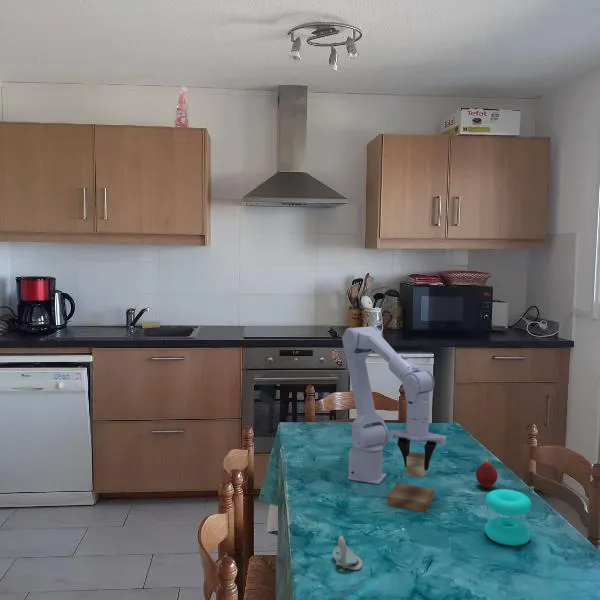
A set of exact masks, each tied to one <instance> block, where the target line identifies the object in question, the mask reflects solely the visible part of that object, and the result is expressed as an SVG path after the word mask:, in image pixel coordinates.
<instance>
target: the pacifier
mask: <svg viewBox="0 0 600 600" xmlns="http://www.w3.org/2000/svg"><path fill="white" fill-rule="evenodd" d="M337 545H338V546H335V547H334V548H333V549H332V552H331V553H332V554H331V555H332V558H333V559H334V560H335V564H336V565H337V566H339V567H341V566H342V567H343V568H342V567H341V568H342V569H345V568H347V569H348V570H352V571H357V570H360V569H361V568H363V561H362V559H361V558H360V557H359V556H357V555H356V554H355V553H354V551H353V550H352V549H350V548H349V547H347V545H346V541H345V539H344V536H343V535H340V536H339V538H338V539H337ZM337 554H338V555H337ZM355 564H357V565H355Z"/></svg>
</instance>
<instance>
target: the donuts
mask: <svg viewBox="0 0 600 600" xmlns="http://www.w3.org/2000/svg"><path fill="white" fill-rule="evenodd" d="M485 502H486V505H487V507H488V508H489V509H490V510H491V511H493V512H494V513H496V514H499V515H502V516H501V517H500V516H499V517H493V518H490V520H488V521H487V522H486V523H485V526H484V532H485V534H486V535H487V537H488V538H489V539H490V540H491V541H493V542H495V543H498V544H501V545H505V546H522V545H526V543H528V542H529V540H530V539H531V530H530V529H529V527H528V526H527V525H526V524H525V523H524V522H522V521H520V520H518V519H516V518H513V517H520V516H523V515H524V516H525V514H528V513H529V512H530V511H531V509H532V501H531V499H530V498H529V496H527V495H526V494H524V493H523V492H520V491H517V490H512V489H507V488H505V489H504V488H503V489H502V488H499V489H494V490H491V491H489V492H488V493H487V495H486V496H485ZM506 516H507V517H506Z"/></svg>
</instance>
